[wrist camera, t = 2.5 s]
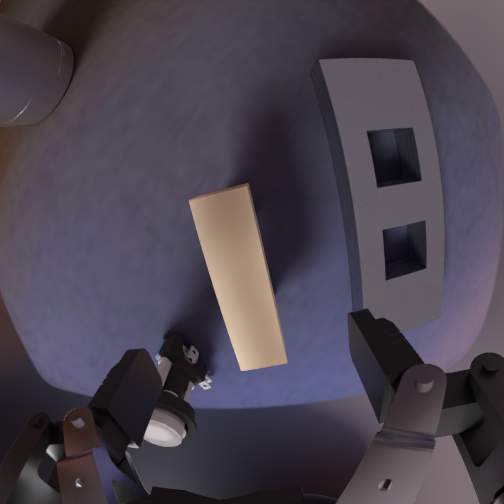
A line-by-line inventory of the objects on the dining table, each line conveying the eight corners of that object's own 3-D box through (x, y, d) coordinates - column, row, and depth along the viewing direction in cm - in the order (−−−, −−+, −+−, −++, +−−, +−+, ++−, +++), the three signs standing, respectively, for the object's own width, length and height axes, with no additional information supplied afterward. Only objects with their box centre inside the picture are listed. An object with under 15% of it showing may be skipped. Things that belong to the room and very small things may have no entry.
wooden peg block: (244, 317, 23) (241, 371, 16) (210, 189, 20) (188, 200, 13) (279, 310, 23) (287, 362, 16) (249, 180, 20) (247, 186, 13)
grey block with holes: (353, 325, 23) (364, 344, 21) (310, 73, 17) (318, 59, 14) (424, 303, 23) (439, 317, 20) (396, 70, 17) (413, 60, 14)
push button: (230, 369, 25) (221, 453, 15) (190, 387, 26) (171, 463, 16) (187, 321, 23) (155, 403, 14) (147, 343, 24) (108, 418, 15)
